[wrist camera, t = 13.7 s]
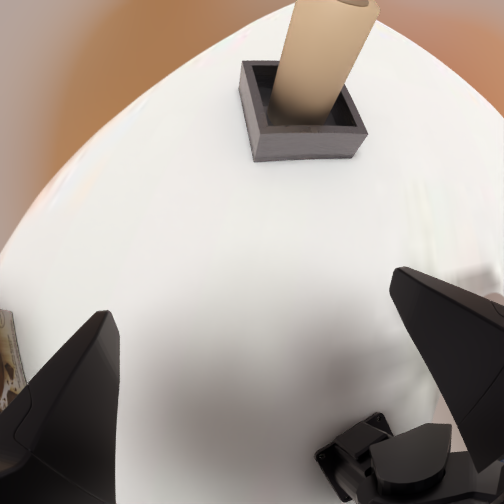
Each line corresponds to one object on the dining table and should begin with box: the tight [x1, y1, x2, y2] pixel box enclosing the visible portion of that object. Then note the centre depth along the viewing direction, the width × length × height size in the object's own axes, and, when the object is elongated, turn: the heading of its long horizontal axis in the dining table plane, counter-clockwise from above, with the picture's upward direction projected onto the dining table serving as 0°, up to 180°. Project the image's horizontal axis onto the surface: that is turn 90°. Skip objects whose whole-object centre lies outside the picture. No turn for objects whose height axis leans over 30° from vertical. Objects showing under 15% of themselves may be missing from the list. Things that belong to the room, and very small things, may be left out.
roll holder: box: [239, 61, 368, 162], centre depth 26 cm, size 10×10×4 cm
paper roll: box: [267, 0, 380, 126], centre depth 20 cm, size 6×6×14 cm
